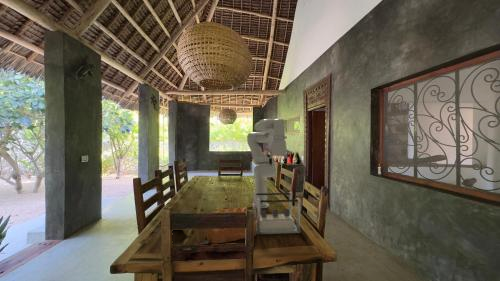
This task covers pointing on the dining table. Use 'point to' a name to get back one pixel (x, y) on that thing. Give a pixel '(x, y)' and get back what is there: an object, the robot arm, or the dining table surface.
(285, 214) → the grey matte cuboid
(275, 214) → the dark grey rectangular box
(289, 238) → the dining table surface
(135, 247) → the dining table surface
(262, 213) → the grey rectangular block
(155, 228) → the dining table surface
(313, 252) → the dining table surface
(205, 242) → the lantern
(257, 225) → the frame
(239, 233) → the bread
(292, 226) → the switch box
